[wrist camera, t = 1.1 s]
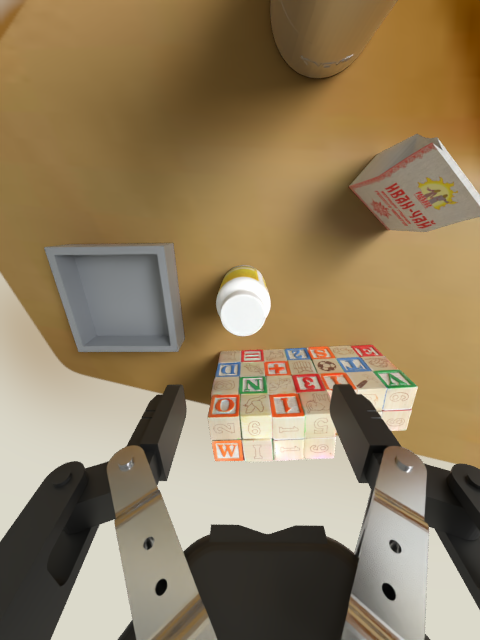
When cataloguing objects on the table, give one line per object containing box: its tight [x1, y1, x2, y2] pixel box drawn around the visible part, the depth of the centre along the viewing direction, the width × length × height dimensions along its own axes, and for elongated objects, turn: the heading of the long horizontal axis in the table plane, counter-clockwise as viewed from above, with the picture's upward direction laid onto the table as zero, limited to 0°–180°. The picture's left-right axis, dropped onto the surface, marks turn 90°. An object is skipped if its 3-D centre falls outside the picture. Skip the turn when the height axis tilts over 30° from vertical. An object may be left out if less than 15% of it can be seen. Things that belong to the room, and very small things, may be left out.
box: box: [44, 243, 185, 352], centre depth 28 cm, size 13×13×4 cm
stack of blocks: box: [208, 345, 417, 462], centre depth 28 cm, size 21×6×12 cm, turn 94°
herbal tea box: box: [349, 134, 480, 232], centre depth 20 cm, size 4×7×10 cm, turn 51°
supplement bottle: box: [216, 265, 270, 336], centre depth 24 cm, size 5×5×10 cm
